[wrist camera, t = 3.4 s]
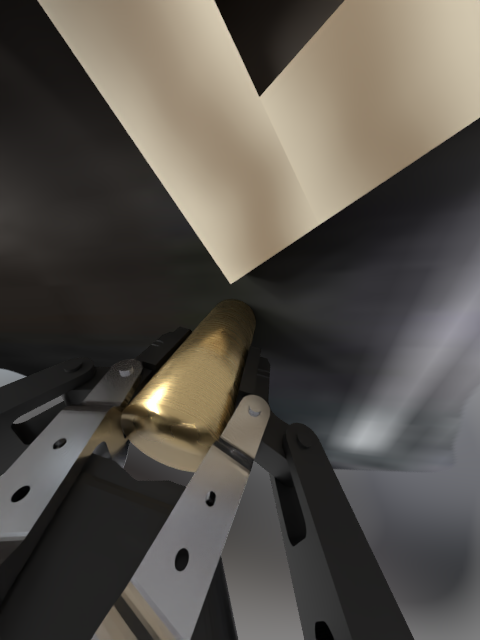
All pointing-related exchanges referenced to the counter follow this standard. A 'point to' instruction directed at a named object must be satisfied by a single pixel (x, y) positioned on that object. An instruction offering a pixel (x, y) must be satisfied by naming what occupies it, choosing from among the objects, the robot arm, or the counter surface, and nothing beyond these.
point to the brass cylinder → (193, 390)
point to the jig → (277, 108)
